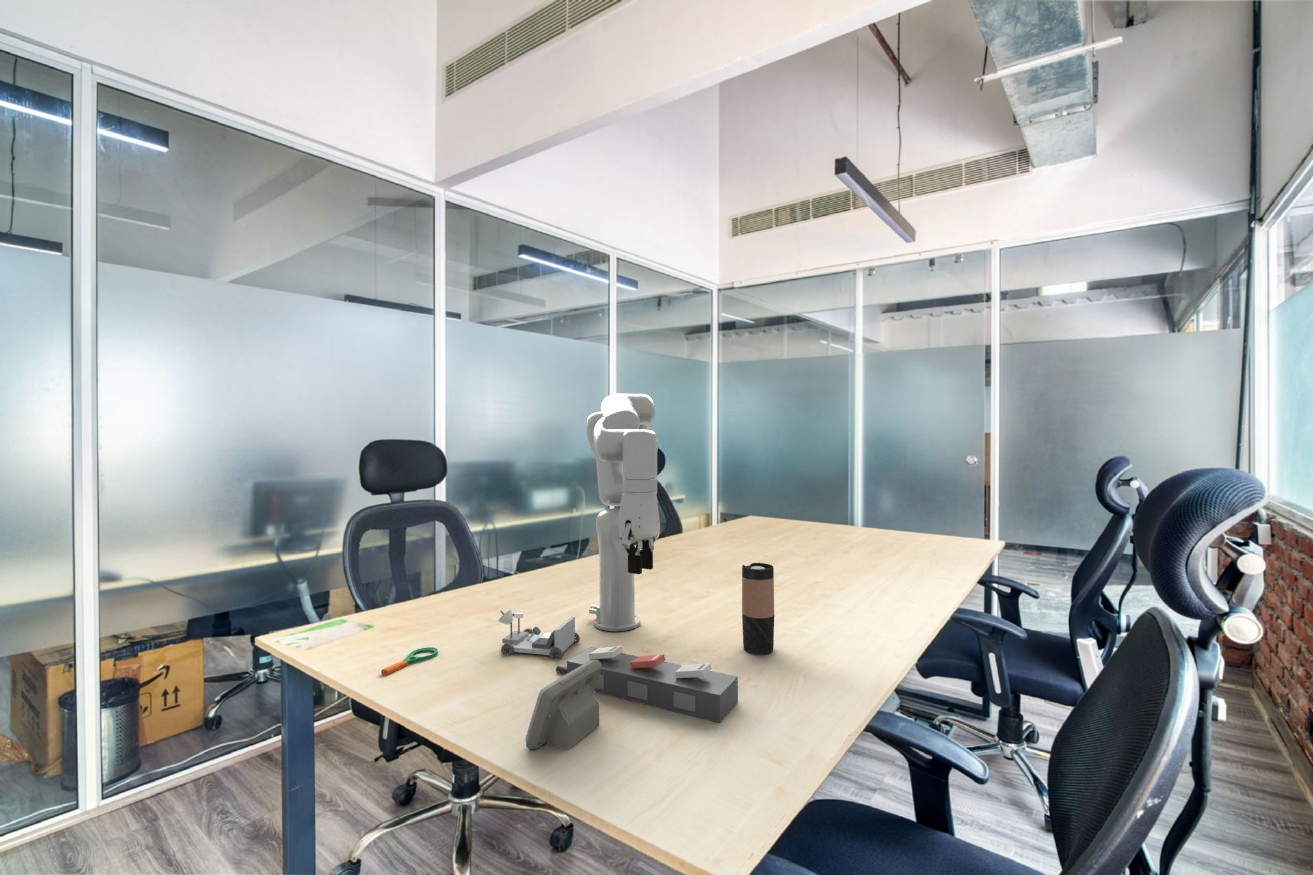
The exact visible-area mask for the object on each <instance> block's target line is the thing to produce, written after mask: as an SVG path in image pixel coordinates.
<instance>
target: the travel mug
mask: <svg viewBox="0 0 1313 875" xmlns="http://www.w3.org/2000/svg"><path fill="white" fill-rule="evenodd" d="M774 570H775V568H774V566H773V565H772V564H770V563H763V562H752V563H750V564H748V565H745V564H742V566H741V578H742V579H741V618H742V645H743V646H742V647H743V648H742V649H743V650H744V651H745V652H746V653H749V654H751V655H759V656H764V655H769V654H772V652H774V645H775V644H774V638H775V636H774V635H775V579H774V578H775V577H774V573H775V571H774Z"/></svg>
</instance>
